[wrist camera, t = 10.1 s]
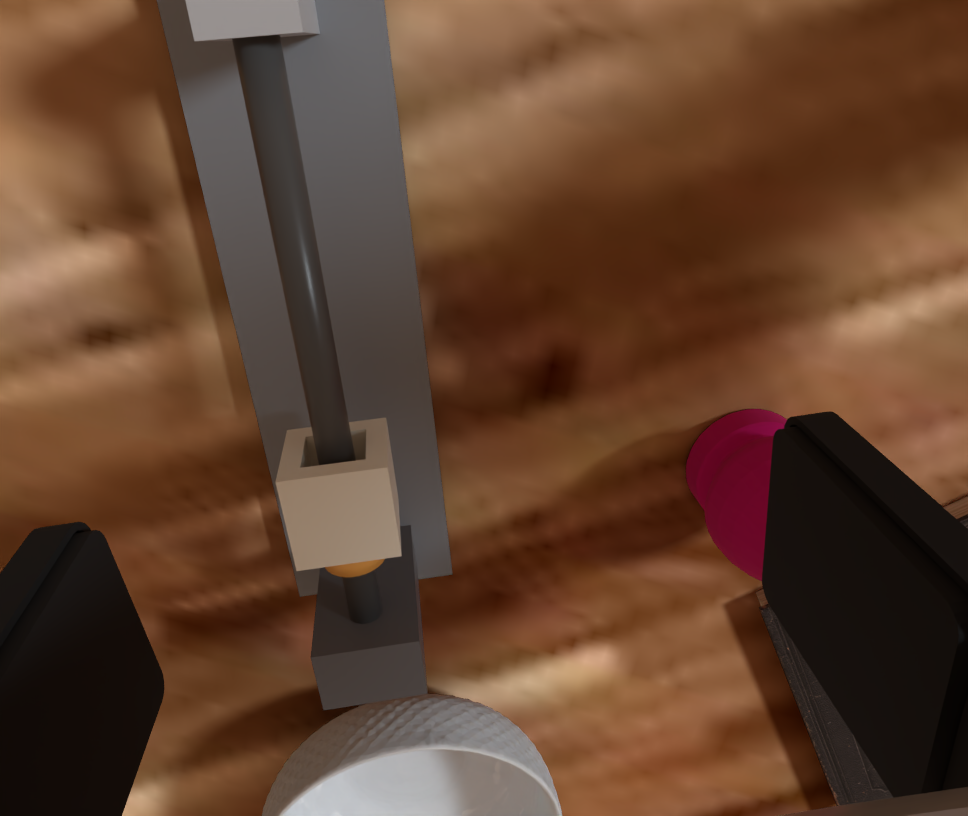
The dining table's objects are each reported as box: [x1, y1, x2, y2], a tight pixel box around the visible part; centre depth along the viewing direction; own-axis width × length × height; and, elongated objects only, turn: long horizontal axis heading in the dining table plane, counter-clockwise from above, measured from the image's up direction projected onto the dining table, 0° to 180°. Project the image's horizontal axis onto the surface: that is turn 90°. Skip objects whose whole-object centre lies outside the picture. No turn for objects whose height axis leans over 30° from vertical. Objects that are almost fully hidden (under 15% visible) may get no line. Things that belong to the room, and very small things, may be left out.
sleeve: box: [276, 418, 402, 571], centre depth 29 cm, size 4×4×4 cm
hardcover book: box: [756, 496, 968, 806], centre depth 48 cm, size 16×23×2 cm
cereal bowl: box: [262, 694, 562, 816], centre depth 43 cm, size 17×17×7 cm
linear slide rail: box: [157, 0, 453, 710], centre depth 30 cm, size 8×28×9 cm, turn 4°
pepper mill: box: [686, 409, 787, 581], centre depth 31 cm, size 7×7×20 cm
